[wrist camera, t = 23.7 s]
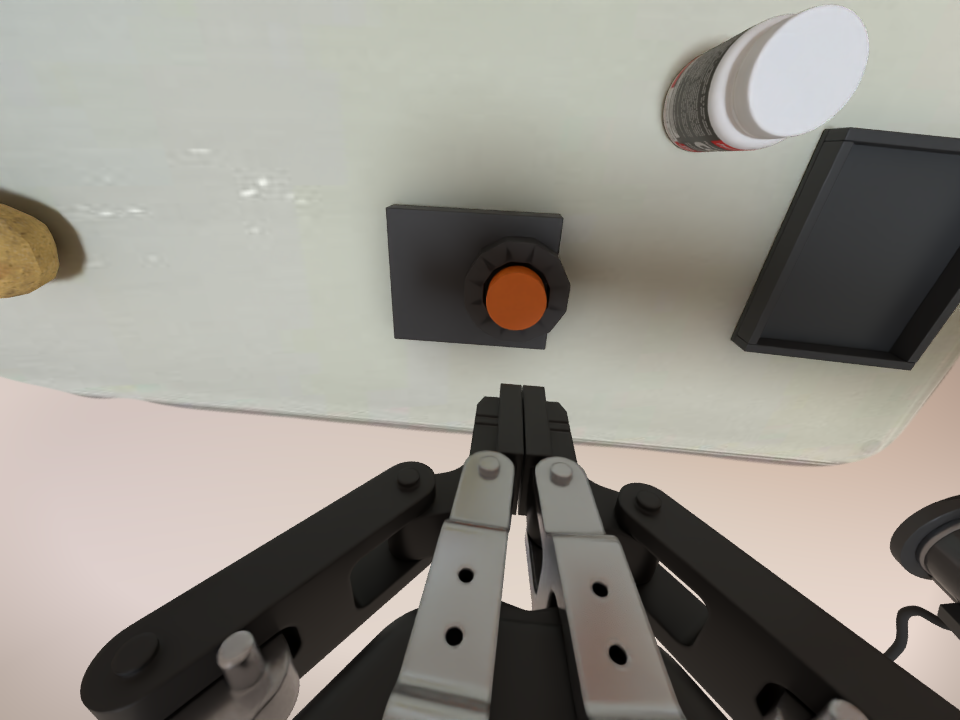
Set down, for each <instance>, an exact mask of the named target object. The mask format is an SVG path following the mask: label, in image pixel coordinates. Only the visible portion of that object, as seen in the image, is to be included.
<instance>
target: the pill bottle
mask: <svg viewBox="0 0 960 720" xmlns="http://www.w3.org/2000/svg"><path fill="white" fill-rule="evenodd" d="M868 55H869V38H868V33H867V30H866V27H865V25H864V23H863V21H862V20H861V18H860V17H859V16H858V15H857V14H856V13H855V12H854V11H852V10H850V9H848V8H847V7H844V6H840V5H830V4H828V5H820V6H816V7H812V8H809V9H807V10H804V11H802V12H800V13H797V14H787V15H780V16H776V17H773V18H770V19H767V20H765V21H763V22H761V23H759V24H757V25H754V26H753V27H751V28H749V29H747V30H745V31H744V32H742V33H740V34H738V35H736V36H735V37H733V38H731V39H729V40H728V41H726V42H724V43H722V44H720V45H718V46H717V47H715V48H713V49H711V50H709V51H707V52H706V53H704V54H701V55H700V56H698V57H696V58H695V59H694V60H692V61H691V62H690V63H688V64H687V65H686V66H685V67H684V68H683V69H682V70H681V71H680V73H679V74H678V75H677V76H676V78H675V79H674V81H673V83H672V84H671V86H670V88H669V91H668V93H667V96H666V100H665V105H664V125H665V129H666V132H667V134H668V136H669V137H670V139H671V140H672V141H673V142H674V143H675V144H676V145H677V146H678V147H680V148H682V149H684V150H687V151H692V152H713V151H744V150H757V149H762V148H765V147H769V146H772V145H774V144H776V143H779V142H781V141H783V140H784V139H786V138H788V137H793V136H798V135H802V134H805V133H807V132H810V131H812V130H814V129H816V128H818V127H820V126H821V125H823V124H824V123H826V122H827V121H829V120H830V119H831V118H832V117H833V116H835V115H836V114H837V113H838V112H839V111H840V110H841V109H842V108H843V107H844V106H845V104H846V103H847V102H848V100H849V99H850V98H851V96H852V95H853V94H854V92H855V90H856V89H857V87H858V85H859V83H860V81H861V79H862V76H863V74H864V71H865V68H866V64H867V60H868Z"/></svg>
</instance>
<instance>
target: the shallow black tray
mask: <svg viewBox="0 0 960 720" xmlns="http://www.w3.org/2000/svg"><path fill="white" fill-rule="evenodd" d="M959 303H960V138H951V137H941V136H931V135H921V134H911V133H901V132H892V131H882V130H872V129H862V128H852V127H849V128H837V129H825V130H824V132H823V134H822V137H821V139H820V141H819V143H818V145H817V148H816V150H815V152H814V154H813V157H812V159H811V161H810V163H809V166H808V168H807V170H806V172H805V175H804V177H803V179H802V181H801V184H800V186H799V188H798V190H797V193H796V195H795V197H794V199H793V201H792V204H791V206H790V208H789V210H788V213H787V215H786V217H785V219H784V222H783V224H782V226H781V228H780V231H779V233H778V235H777V237H776V240H775V242H774V244H773V246H772V249H771V251H770V253H769V255H768V257H767V260H766V262H765V264H764V266H763V269H762V271H761V273H760V275H759V278H758V280H757V282H756V284H755V287H754V289H753V291H752V293H751V296H750V298H749V300H748V302H747V304H746V307H745V309H744V311H743V313H742V316H741V318H740V320H739V322H738V325H737V327H736V329H735V331H734V334H733V336H732V338H731V340H732V341H733V342H734V343H735V344H737V345H738V346H739V347H740V348H741V349H742V350H744V351H747V352H756V353H764V354H773V355H782V356H790V357H799V358H807V359H816V360H825V361H833V362H842V363H851V364H859V365H868V366H877V367H885V368H894V369H902V370H911V369H912V368H913V367H914V365H915V363H916V362H917V361H918V360H919V358H920V357H921V356H922V354H923V353H924V351H925V350H926V349H927V347H928V346H929V345H930V343H931V342H932V340H933V339H934V338H935V336H936V335H937V334H938V332H939V331H940V329H941V328H942V327H943V325H944V324H945V322H946V321H947V320H948V318H949V317H950V316H951V314H952V313H953V311H954V310H955V309H956V307H957V306H958V305H959Z"/></svg>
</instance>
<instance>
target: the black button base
mask: <svg viewBox="0 0 960 720" xmlns="http://www.w3.org/2000/svg"><path fill="white" fill-rule="evenodd" d="M386 218H387V233H388V248H389V264H390V279H391V294H392V309H393V324H394V338H395V339H409V340H422V341H436V342H449V343H462V344H476V345H489V346H503V347H516V348H530V349H543V350H544V349H545V346H546V339H547V333H549V332H550V331H551V330H552V329H553V327H554V326H555V325H556V324H557V322H558V321H559V320H560V319H561V318H562V316H563V315H564V314H565V312H566V310H567V304H568V297H569V291H570V283H569V281H568V278H567V276H566V273H565V271H564V269H563V266H562V264H561V261H560V259H559V257H558V253H559V246H560V239H561V232H562V225H563V217H562V216H561V215H560V214H547V213H530V212H513V211H496V210H478V209H461V208H444V207H427V206H410V205H391V206H389V207H387V208H386ZM509 266H524V267H527V268H530V269H531V270H533V271H534V272H536V273H537V274H538V275H539V277H540V278H541V280H542V282H543V284H544V288H545V292H546V297H547V305H546V309H545V312H544V314H543V316H542V317H541V319H540V320H539V321H538V322H537V323H536V324H534V325H533V326H531V327H529V328H526V329H523V330H509V329H505V328H503V327H501V326H499V325H498V324H496V323H495V322H494V321H493V320H492V318H491V317H490V315H489V313H488V311H487V307H486V297H487V291H488V287H489V284H490V281H491V280H492V278H493V277H494V275H495V274H497V273H498V272H499V271H500V270H502V269H504V268H506V267H509Z"/></svg>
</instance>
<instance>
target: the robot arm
mask: <svg viewBox="0 0 960 720" xmlns="http://www.w3.org/2000/svg"><path fill="white" fill-rule="evenodd" d="M517 502H518V515H525V516H527V528H526V535H525V546H526V554H527V563H528V572H529V581H530V590H531V599H532V611H527V610H523V609H520V608H518V607H515V606H513V605H510V604H507V603H505V602H502V601H501V598H502V588H503V578H504V569H505V559H506V549H507V540H508V533H509V530H510V525H511V517H512V514H513V515H516V510H517ZM915 556H916V560H917V562H918V564H919V565H920V566H921V567H922V568H923V569H924V570H925V571H926V572H927V573H928V576H929V577H930V578H931V579H932V580H933V581H934V582H935V583H936V584H937V585H938V586H939V587H940V588H941V589H942V590H943V591H944V592H945V593H946V594H947V595H948V596H949V597H950V598H951V599H952V600H953V601H954V602H955V603H950V604H940V607H939V610H938V616H936V615H934V614H932V613H931V612H929V611H927V610H925V609H923V608H921V607H918V606H907V607H904V608H901V609H900V610H899V611H898V613H897V618H896V629H897V634H896V639H895V641H894V643H893V644H892V645H891V647H890V648H889V649H888V650H887V651H886V652H885V653H884V654H882V653H881V652H880V651H878V650H877V649H876V648H874V647H873V646H872V645H870V644H869V643H867V642H866V641H865V640H863V639H862V638H861V637H859V636H858V635H857V634H855V633H854V632H853V631H851V630H850V629H848V628H847V627H846V626H844V625H843V624H842V623H840V622H839V621H838V620H836V619H835V618H834V617H832V616H831V615H829V614H828V613H827V612H825V611H824V610H823V609H821V608H820V607H819V606H817V605H816V604H815V603H813V602H812V601H810V600H809V599H808V598H806V597H805V596H804V595H802V594H801V593H800V592H798V591H797V590H796V589H794V588H792V587H791V586H790V585H789V584H787V583H786V582H785V581H783V580H782V579H780V578H779V577H778V576H776V575H775V574H774V573H772V572H771V571H770V570H768V569H767V568H766V567H764V566H763V565H762V564H760V563H759V562H757V561H756V560H755V559H753V558H752V557H751V556H749V555H748V554H747V553H745V552H744V551H743V550H741V549H740V548H738V547H737V546H736V545H734V544H733V543H732V542H730V541H729V540H728V539H726V538H725V537H724V536H722V535H721V534H719V533H718V532H717V531H715V530H714V529H712V528H711V527H710V526H709V525H707V524H706V523H705V522H703V521H702V520H700V519H699V518H698V517H696V516H695V515H694V514H692V513H691V512H689V511H688V510H687V509H685V508H684V507H683V506H681V505H680V504H679V503H677V502H676V501H675V500H673V499H672V498H670V497H669V496H668V495H666V494H665V493H664V492H662V491H661V490H659V489H657V488H655V487H653V486H651V485H647V484H643V483H630V484H627V485H625V486H623V487H622V488H621V490H620V492H617V491H614V490H611V489H608V488H605V487H602V486H600V485H598V484H595V483H594V482H592V481H590V480H589V479H588V478H587V476H586V473H585V471H584V470H583V468H582V467H581V466H580V465H578V464H577V460H576V455H575V451H574V445H573V440H572V436H571V432H570V426H569V421H568V416H567V412H566V411H565V409H564V408H563V407H562V406H561V405H560V403H559V402H548V401H546V397H545V389H544V387H539V386H527V385H523V387H522V386H521V385H513V384H501V386H500V398H498V397H486V396H485V397H484V398H483V399H482V400H481V401H480V402H479V403H478V404H477V410H476V416H475V424H474V430H473V436H472V443H471V450H470V455H469V457H468V458H467V459H466V461H465V463H464V465H462V466H461V467H460V468H458V469H456V470H453V471H450V472H446V473H440V474H434V472H433V470H432V469H431V468H430V467H428V466H427V465H425V464H423V463H419V462H404V463H400V464H397V465H395V466H393V467H391V468H389V469H388V470H386V471H385V472H383V473H381V474H380V475H378V476H376V477H375V478H373V479H371V480H370V481H368V482H366V483H365V484H363V485H361V486H360V487H358V488H356V489H355V490H353V491H351V492H350V493H348V494H347V495H345V496H343V497H342V498H340V499H338V500H337V501H335V502H333V503H332V504H330V505H328V506H327V507H325V508H323V509H322V510H320V511H319V512H317V513H315V514H314V515H312V516H310V517H309V518H307V519H305V520H304V521H302V522H300V523H299V524H297V525H295V526H294V527H292V528H290V529H289V530H287V531H286V532H284V533H282V534H280V535H279V536H277V537H276V538H274V539H272V540H271V541H269V542H267V543H266V544H264V545H262V546H261V547H259V548H257V549H256V550H254V551H252V552H251V553H249V554H248V555H246V556H244V557H243V558H241V559H239V560H238V561H236V562H234V563H233V564H231V565H229V566H228V567H226V568H224V569H223V570H221V571H219V572H218V573H216V574H215V575H213V576H211V577H209V578H208V579H206V580H205V581H203V582H201V583H200V584H198V585H197V586H195V587H193V588H191V589H190V590H188V591H186V592H185V593H183V594H182V595H180V596H178V597H176V598H175V599H173V600H172V601H170V602H168V603H167V604H165V605H164V606H162V607H160V608H158V609H157V610H155V611H154V612H152V613H150V614H148V615H147V616H145V617H144V618H142V619H140V620H139V621H137V622H135V623H134V624H132V625H130V626H129V627H127V628H126V629H124V630H123V631H121V632H120V633H119V634H117V635H116V636H115V637H114V638H113V639H111V640H110V641H109V642H108V643H107V644H106V645H105V646H104V647H103V648H102V649H101V651H100V652H99V653H98V654H97V655H96V657H95V658H94V659H93V660H92V662H91V664H90V665H89V667H88V668H87V670H86V672H85V675H84V677H83V680H82V683H81V689H80V694H81V700H82V701H83V704H84V705H85V706H86V707H87V708H88V709H89V710H90V711H91V712H92V714H93V715H94V716H95V717H96V718H97V719H98V720H287V718H288V716H289V715H290V713H291V711H292V710H293V707H294V705H295V703H296V700H297V697H298V693H299V686H300V685H299V679H300V678H301V677H302V676H304V674H306V673H307V672H308V671H309V670H310V669H312V668H313V667H314V666H315V665H316V664H317V663H318V662H319V661H320V660H322V659H323V658H324V657H325V656H326V655H327V654H328V653H330V652H331V651H332V650H333V649H334V648H335V647H337V646H338V645H339V644H340V643H341V642H342V641H343V640H345V639H346V638H347V637H348V636H349V635H350V634H351V633H352V632H354V631H355V630H356V629H357V628H358V627H359V626H360V625H362V624H363V623H364V622H365V621H366V620H367V619H368V618H369V617H371V616H372V615H373V614H374V613H375V612H376V611H377V610H379V609H380V608H381V607H382V606H383V605H384V604H385V603H387V602H388V601H389V600H390V599H391V598H392V597H393V596H394V595H396V594H397V593H398V592H399V591H400V590H401V589H402V588H404V587H405V586H406V585H407V584H408V583H409V582H410V581H412V580H413V579H414V578H415V577H416V576H417V575H418V574H419V573H421V572H422V571H423V570H424V569H425V568H426V567H427V566H429V565H430V563H431V562H432V563H431V566H430V570H429V573H428V577H427V580H426V584H425V588H424V591H423V594H422V598H421V601H420V605H419V608H417V609H415V610H413V611H410V612H408V613H406V614H404V615H403V616H401V617H399V618H398V619H396V620H395V621H394V622H392V623H391V624H389V625H388V626H387V627H386V628H385V629H383V630H382V631H381V632H380V633H379V634H378V635H377V636H376V637H375V638H374V639H373V640H372V641H371V642H370V643H369V644H368V645H367V646H366V647H365V648H364V649H363V650H362V651H361V652H360V653H359V654H358V655H357V656H356V657H355V658H354V659H353V660H352V661H351V662H350V663H349V664H348V665H347V666H346V667H345V668H344V669H343V670H342V671H341V672H340V673H339V674H338V675H337V676H336V677H335V678H334V679H333V680H332V681H331V682H330V683H329V684H328V685H327V686H326V687H325V688H324V689H323V690H322V691H320V693H318V694H317V695H316V696H315V697H314V698H313V700H311V701H310V702H309V703H308V704H307V705H306V706H305V708H303V709H302V710H301V711H300V712H299V714H297V715H296V716H295V717H294V718H293V719H292V720H728V719H727V718H726V717H725V716H724V714H723V713H722V712H721V711H720V710H719V709H718V708H717V707H716V705H715V704H714V703H713V702H712V701H711V700H710V699H709V698H708V697H707V695H706V694H705V693H704V692H703V691H702V690H701V689H700V688H699V686H698V685H697V684H696V683H695V682H694V681H693V680H692V679H691V678H690V677H689V676H688V674H687V673H686V672H685V671H684V670H683V669H682V667H681V666H679V664H678V663H677V662H676V661H675V660H674V659H673V658H672V657H671V656H669V654H668V653H666V652H665V651H664V650H663V649H662V648H661V647H659V646H658V645H657V642H656V639H655V637H656V638H657V639H658V640H659V642H660V643H661V644H662V645H663V646H665V648H666V649H667V650H668V651H669V652H670V653H671V654H672V655H673V656H674V657H675V658H676V660H677V661H678V662H679V663H680V664H681V665H682V666H683V667H684V668H685V669H686V670H687V671H688V672H689V673H690V674H691V675H692V676H693V678H694V679H695V680H696V681H697V682H698V683H699V684H700V685H701V686H702V687H703V688H704V689H705V690H706V691H707V692H708V693H709V694H710V696H712V698H713V699H714V700H715V701H716V702H717V703H718V704H719V705H720V706H721V707H722V708H723V709H724V710H725V711H726V712H727V713H728V715H729V716H730V717H731V718H732V719H733V720H960V711H959V709H957V708H956V707H954V706H953V705H952V704H950V703H949V702H948V701H946V700H945V699H944V698H942V697H941V696H940V695H938V694H937V693H935V692H934V691H933V690H931V689H930V688H929V687H927V686H926V685H925V684H923V683H922V682H920V681H919V680H918V679H916V678H915V677H914V676H912V675H911V674H910V673H908V672H907V671H906V670H904V669H903V668H901V667H900V666H899V665H897V664H896V663H895V662H893V661H894V660H895V659H896V658H897V657H898V656H899V655H900V654H901V653H902V652H903V651H904V649H905V648H906V644H907V639H908V620H909V618H910V617H911V616H917V615H918V616H921V617H923V618H925V619H927V620H928V621H930V622H932V623H933V624H935V625H937V626H939V627H941V628H943V629H946V630H950V631H952V632H953V633H954V634H955V635H956V636H957V637H958V639H960V518H958V519H955V520H953V521H950V522H948V523H946V524H944V525H942V526H940V527H938V528H937V529H935V530H934V531H932V532H931V533H929V534H928V535H927V536H926V537H925V538H924V539H923V540H922V541H921V542H920V544H919V545H918V547H917V549H916V554H915ZM659 561H660V562H661V563H663V564H664V565H665V566H666V567H667V568H668V569H669V570H671V571H672V572H673V573H674V574H675V575H676V576H677V577H678V578H679V579H681V580H682V581H683V582H684V583H685V584H686V585H687V586H689V587H690V588H691V589H692V590H693V591H694V592H695V593H696V594H698V595H699V597H700V598H701V599H702V600H703V602H704V603H705V605H706V606H705V605H704V604H703V603H702V602H701V601H700V600H698V598H696V597H695V596H694V595H693V594H692V593H691V592H690V591H688V590H687V589H686V588H685V587H684V586H683V585H682V584H681V583H680V582H678V581H677V580H676V579H675V578H674V577H673V576H672V575H671V574H670V573H668V572H667V571H666V570H665V569H664V568H663V567H662V566H660V564H658V563H659ZM654 636H655V637H654Z"/></svg>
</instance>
